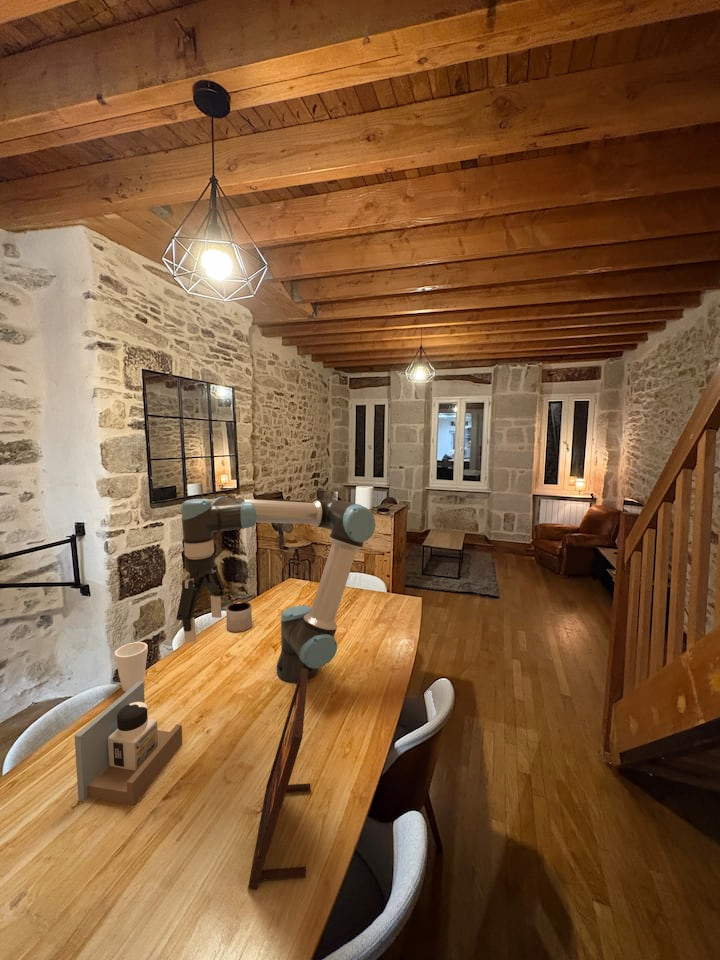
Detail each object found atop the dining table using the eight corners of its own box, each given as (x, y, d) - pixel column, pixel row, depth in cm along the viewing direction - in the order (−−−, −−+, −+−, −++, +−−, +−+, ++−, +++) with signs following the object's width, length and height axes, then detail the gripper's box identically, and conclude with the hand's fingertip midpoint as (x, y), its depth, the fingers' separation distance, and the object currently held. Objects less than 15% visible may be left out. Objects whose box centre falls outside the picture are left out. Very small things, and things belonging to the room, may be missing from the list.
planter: (257, 625, 171) (256, 605, 170) (237, 635, 162) (237, 614, 161) (240, 619, 177) (240, 599, 176) (221, 628, 168) (220, 607, 167)
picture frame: (266, 788, 90) (264, 669, 88) (310, 785, 91) (310, 667, 88) (247, 890, 69) (245, 739, 67) (305, 885, 70) (305, 735, 68)
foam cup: (155, 680, 130) (153, 645, 129) (131, 697, 122) (129, 659, 121) (134, 675, 134) (133, 640, 132) (109, 691, 125) (107, 653, 124)
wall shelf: (184, 740, 104) (182, 686, 103) (130, 809, 85) (127, 743, 83) (141, 734, 106) (138, 681, 105) (78, 800, 87) (74, 735, 85)
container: (136, 772, 91) (133, 721, 90) (108, 766, 92) (105, 716, 91) (158, 747, 98) (156, 700, 97) (133, 742, 100) (130, 696, 99)
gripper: (210, 542, 117) (214, 608, 119) (157, 570, 92) (163, 652, 95) (233, 543, 116) (237, 609, 118) (185, 571, 91) (191, 654, 94)
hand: (204, 628), depth 106 cm, fingers open, 13 cm apart
